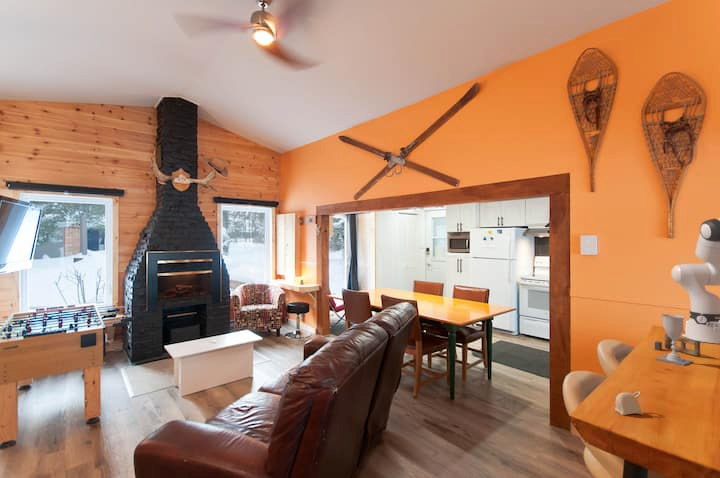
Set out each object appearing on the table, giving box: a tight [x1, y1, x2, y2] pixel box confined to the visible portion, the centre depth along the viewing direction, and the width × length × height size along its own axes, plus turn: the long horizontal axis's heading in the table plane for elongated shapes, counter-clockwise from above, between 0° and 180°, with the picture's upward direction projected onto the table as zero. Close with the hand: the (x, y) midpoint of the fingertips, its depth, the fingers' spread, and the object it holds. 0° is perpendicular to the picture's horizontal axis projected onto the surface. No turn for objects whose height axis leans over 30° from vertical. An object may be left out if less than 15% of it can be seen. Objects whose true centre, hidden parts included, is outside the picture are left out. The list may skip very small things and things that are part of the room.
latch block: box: [654, 340, 663, 351], centre depth 158 cm, size 3×2×4 cm, turn 120°
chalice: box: [661, 314, 685, 361], centre depth 142 cm, size 7×7×18 cm
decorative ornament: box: [614, 391, 644, 416], centre depth 98 cm, size 4×8×5 cm, turn 95°
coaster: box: [655, 354, 694, 367], centre depth 142 cm, size 9×9×1 cm
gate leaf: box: [664, 333, 701, 357], centre depth 153 cm, size 14×2×6 cm, turn 10°
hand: (710, 326), depth 143 cm, fingers open, 8 cm apart
